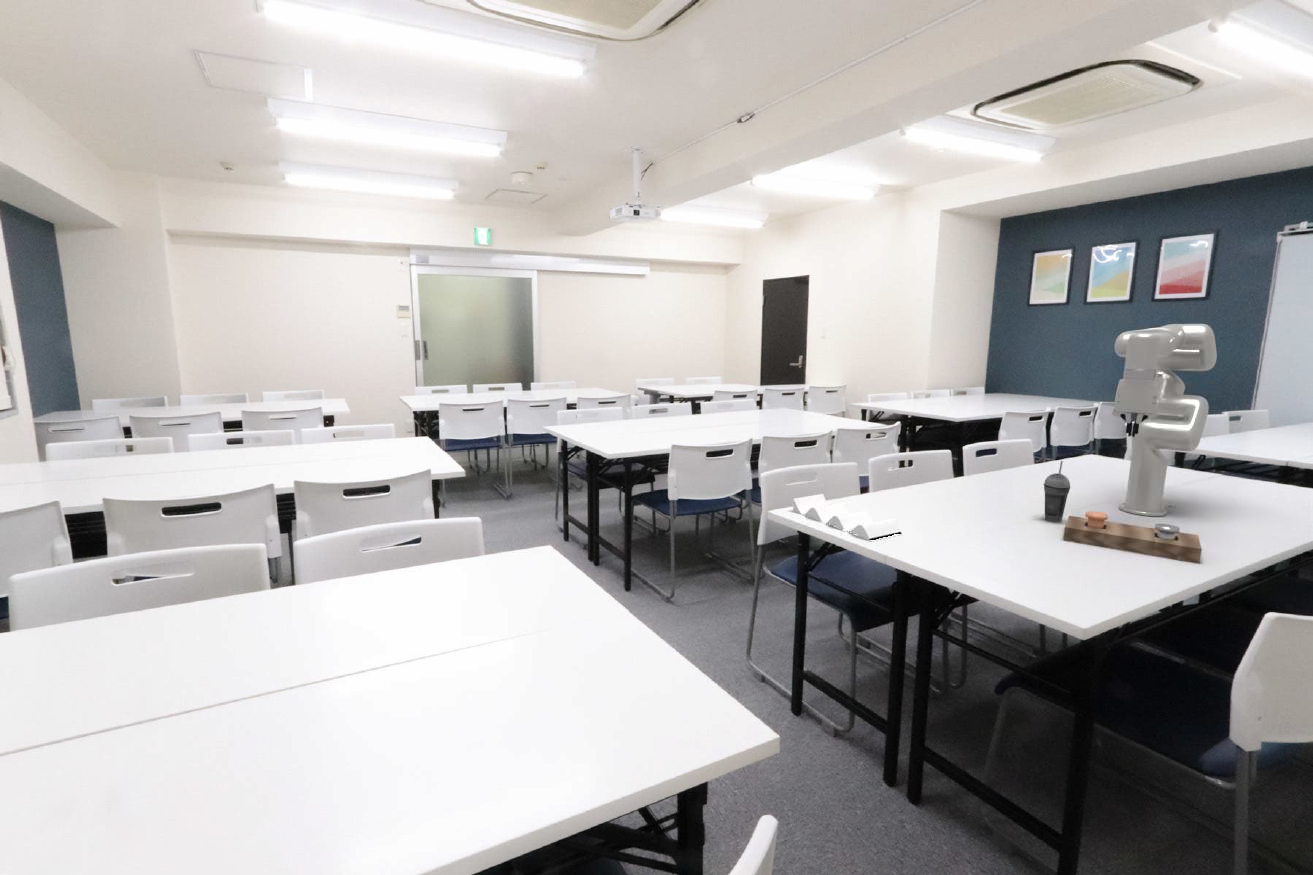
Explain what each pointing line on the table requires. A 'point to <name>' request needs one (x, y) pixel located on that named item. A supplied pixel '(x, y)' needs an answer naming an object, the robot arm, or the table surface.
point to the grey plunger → (1167, 531)
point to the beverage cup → (1055, 496)
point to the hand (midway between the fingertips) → (1131, 435)
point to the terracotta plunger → (1096, 519)
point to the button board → (1133, 539)
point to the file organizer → (845, 517)
